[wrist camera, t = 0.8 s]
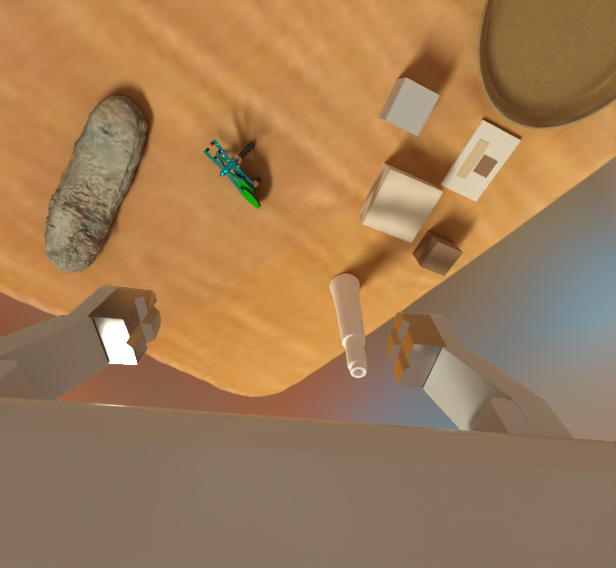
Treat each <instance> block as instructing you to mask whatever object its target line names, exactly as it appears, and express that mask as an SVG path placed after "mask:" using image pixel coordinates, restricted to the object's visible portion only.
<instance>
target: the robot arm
mask: <svg viewBox="0 0 616 568" xmlns="http://www.w3.org/2000/svg"><path fill="white" fill-rule="evenodd" d="M156 302H157V299H156V295H155V293H154V292H153V291H151V290H143V289H134V288H125V287H115V286H102V287H100V288H99V289H98V290H96V291H95V292H94V293H93V294H92V295H91V296H90V297H88V298H87V299H86V300H85V301H84V302H83V303H81V304H80V305H79V306H78V307H77V308H76V309H74V310H73V311H72V312H71V313H70V314H69V315H61V316H58V317H55V318H53V319H50V320H47V321H45V322H42V323H39V324H37V325H34V326H31V327H29V328H26V329H23V330H21V331H18V332H15V333H13V334H10V335H7V336H4V337H2V338H0V568H616V441H604V440H590V439H577V438H576V439H575V438H573V436H572V435H571V434H570V433H569V431H568V430H567V429H566V427H565V426H564V425H563V424H562V422H561V421H560V420H559V418H558V417H557V416H556V414H555V413H554V412H553V411H552V409H551V408H550V407H549V405H548V404H547V403H546V402H545V400H543V399H542V398H540V397H539V396H537V395H536V394H534V393H533V392H531V391H530V390H528V389H527V388H525V387H524V386H522V385H521V384H519V383H518V382H516V381H515V380H514V379H512V378H510V377H509V376H508V375H506V374H505V373H503V372H502V371H500V370H499V369H497V368H496V367H494V366H493V365H491V364H490V363H488V362H487V361H485V360H484V359H482V358H481V357H479V356H478V355H476V354H475V353H474V352H472V351H471V350H469V349H464V348H463V346H462V345H461V343H460V342H459V340H458V338H457V337H456V335H455V334H454V332H453V330H452V329H451V327H450V325H449V324H448V322H447V320H446V319H445V317H443V316H442V315H422V314H409V313H397V314H396V316H395V319H394V321H393V323H394V325H395V328H394V329H393V330H392V331H390V333H389V337H388V344H387V349H388V355H389V358H390V359H391V360H392V361H393V362H394V366H393V372H394V375H395V378H396V382H397V385H403V386H412V387H422V388H423V390H424V391H425V392H426V393H427V394H428V395H429V396H430V397H431V398H432V399H433V400H434V401H435V402H436V404H437V405H438V406H439V407H440V408H441V409H442V410H443V411H444V412H445V413H446V415H447V416H448V417H449V418H450V419H451V420H452V421H453V422H454V423H455V424H456V425H457V426H458V428H459V429H460V430H453V429H438V428H425V427H412V426H398V425H383V424H370V423H357V422H342V421H330V420H316V419H303V418H302V419H301V418H288V417H275V416H261V415H248V414H247V415H246V414H234V413H220V412H206V411H192V410H179V409H165V408H151V407H137V406H124V405H110V404H96V403H82V402H69V401H55V400H56V399H58V398H59V397H61V396H62V395H64V394H65V393H67V392H68V391H70V390H71V389H73V388H74V387H76V386H77V385H79V384H80V383H82V382H83V381H85V380H86V379H88V378H89V377H91V376H92V375H94V374H95V373H97V372H98V371H100V370H101V369H103V368H104V367H106V366H107V365H109V363H118V364H138V362H139V361H140V359H141V358H142V356H143V355H144V354H145V352H146V351H147V345H146V343H148V342H150V341H152V340H154V339H155V337H156V335H157V334H158V331H159V328H160V325H161V317H160V312H159V311H158V310H157V309H156V308H155V307H154V305H155V303H156Z"/></svg>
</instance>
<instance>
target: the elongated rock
mask: <svg viewBox="0 0 616 568" xmlns="http://www.w3.org/2000/svg"><path fill="white" fill-rule="evenodd" d="M148 128H149V126H148V124H147V122H146V121H145V117H144V114H143V113H142V111H141V109H140V108H139V107H138V105H137V104H136V103H135V102H133V101H132V100H131V99H129V98H128V97H127V96H123V95H122V96H113V95H111V96H109V97H107V98H105V99H104V100H103V101H102V102H100V103H99V104H98V106H96V107H95V108H94V110H93V111H92V112H91V113H90V114H89V116H88V120H87V123H86V125H85V127H84V129H83V132H82V136H81V137H80V138H79V139H78V140H77V141H76V142H75V144H74V148H73V150H74V151H73V154H72V157H71V160H70V161H69V163H68V165H67V167H66V169H65V172H64V173H63V174H62V177H61V181H60V184H59V187H58V188H57V189H56V191H55V194H54V195H52V196H51V199H50V202H49V208H48V210H49V214H48V217H46V219H47V222H46V226H47V228H46V232H45V234H44V237H45V252H46V256H47V258H48V260H49V261H50V263H51V264H52V265H54V266H55V267H56V268H58V269H60V270H62V271H65V272H74V271H82V270H83V269H86V268H87V267H89V266H90V265H92V264H93V262H94V260H95V258H96V256H97V254H99V253H100V250H101V248H102V247H103V246H104V245H103V244H104V241H105V239H107V235H108V233H109V231H110V228H111V226H110V225H111V224H112V222H113V219H114V217H115V215H116V211H117V210H118V207H119V205H120V204H121V202H122V201H123V199H124V197H125V196H124V195H125V193H126V192H127V191H128V190H129V189H130V186H131V182H132V178H133V177H134V173H135V169H136V166H137V164H138V162H139V160H140V158H141V156H142V153H141V152H142V151H143V147H144V142H145V140H146V139H147V138H146V134H145V132H146V131H147V129H148Z"/></svg>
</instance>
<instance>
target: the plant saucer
mask: <svg viewBox="0 0 616 568" xmlns="http://www.w3.org/2000/svg"><path fill="white" fill-rule="evenodd" d="M478 67H479V74H480V78H481V82H482V85H483V88H484V91H485V93H486V95H487V97H488V99H489V101H490V102H491V104H492V105H493V107H494V108H495V109H496V110H497V111H498V112H499V113H500V114H501V115H502V116H503V117H504V118H506V119H507V120H509V121H511V122H512V123H514V124H517V125H519V126H522V127H526V128H532V129H550V128H557V127H562V126H566V125H569V124H572V123H575V122H578V121H580V120H583V119H585V118H587V117H589V116H591V115H593V114H595V113H597V112H598V111H600V110H602V109H603V108H605V107H607V106H608V105H610V104H611V103H612V102H614V101H615V100H616V0H486V3H485V6H484V10H483V14H482V19H481V24H480V29H479V37H478Z"/></svg>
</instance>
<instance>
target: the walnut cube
mask: <svg viewBox="0 0 616 568" xmlns="http://www.w3.org/2000/svg"><path fill="white" fill-rule="evenodd" d="M462 253H463V252H462V251H461V250H460V249H459V248H458V247H457V246H456V245H455V244H454V243H453V242H452V241H451V240H449V239H447V238H445V237H442V236H440V235H438V234H435V233H433V232H431V231H427V233H426V234H425V236H424V237H423V239H422V240H421V242H420V243H419V245H418V246H417V248H416V249H415V251H414V252H413V255H414V257H415V258H416V260H417V261H418V263H419V265H420V266H421V267H423V268H426V269H428V270H431V271H433V272H436V273H438V274H441V275H443V276H445V275H446V273H447V272H448V271H449V270H450V268H451V267H452V266H453V265H454V263H455V262H456V261H457V259H458V258H459V257H460V256H461V254H462Z"/></svg>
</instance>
